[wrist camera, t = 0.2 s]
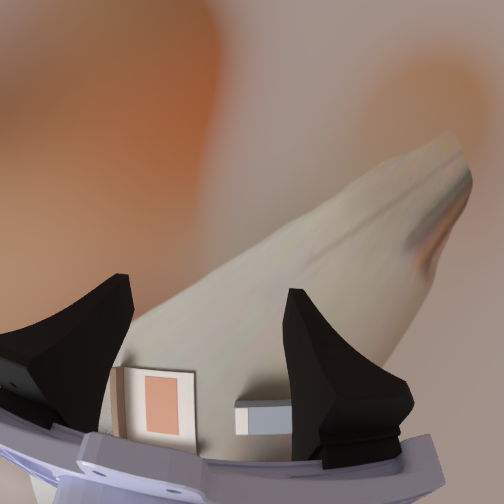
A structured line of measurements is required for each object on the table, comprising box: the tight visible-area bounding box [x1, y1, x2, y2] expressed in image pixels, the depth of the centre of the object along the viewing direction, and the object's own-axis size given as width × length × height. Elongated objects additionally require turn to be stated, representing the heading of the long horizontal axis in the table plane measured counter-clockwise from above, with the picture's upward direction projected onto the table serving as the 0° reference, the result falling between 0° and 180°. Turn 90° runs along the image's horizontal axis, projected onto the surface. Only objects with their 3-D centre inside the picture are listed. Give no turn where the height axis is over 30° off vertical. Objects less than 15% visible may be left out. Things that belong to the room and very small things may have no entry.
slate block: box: [234, 399, 292, 435], centre depth 36 cm, size 4×8×5 cm, turn 91°
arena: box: [110, 366, 197, 455], centre depth 36 cm, size 14×12×4 cm
